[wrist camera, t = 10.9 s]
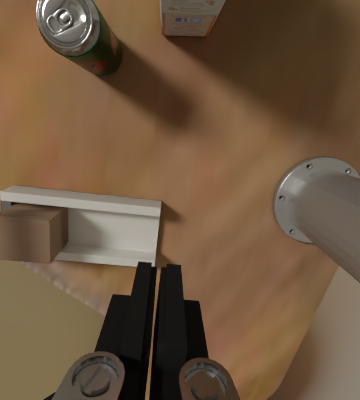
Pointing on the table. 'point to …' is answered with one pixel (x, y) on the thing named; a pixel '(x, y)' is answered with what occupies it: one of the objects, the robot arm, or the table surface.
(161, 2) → the cracker box
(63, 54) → the soda can
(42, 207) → the walnut block
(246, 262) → the table surface
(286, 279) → the table surface
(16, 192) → the chute
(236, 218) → the table surface
